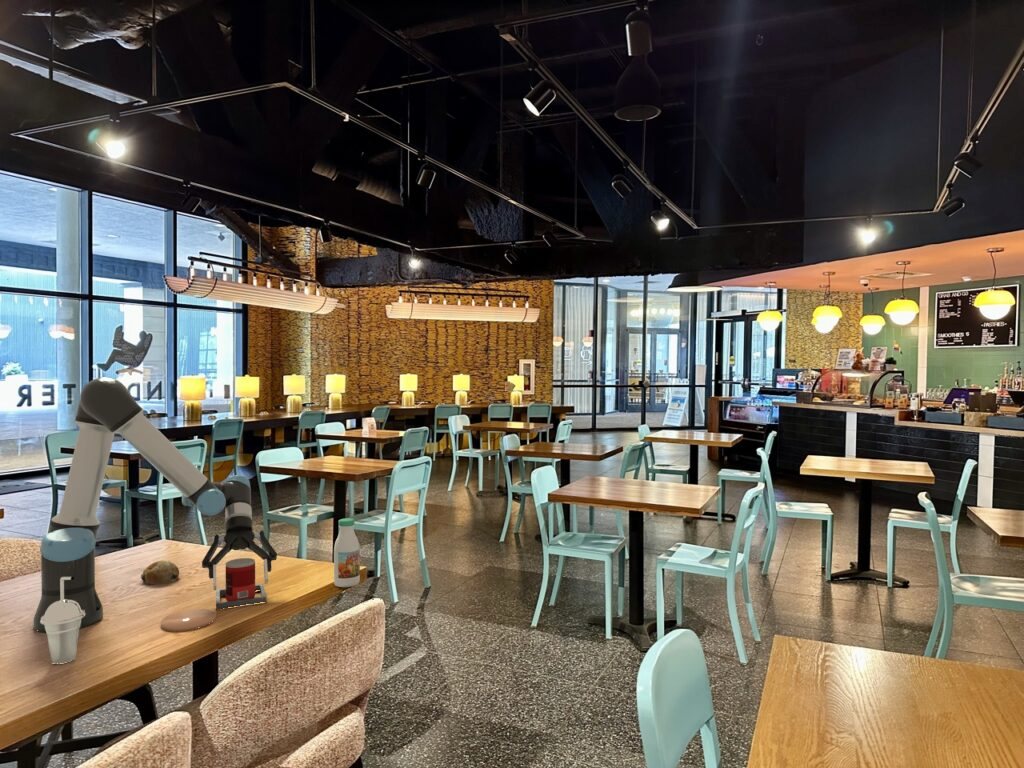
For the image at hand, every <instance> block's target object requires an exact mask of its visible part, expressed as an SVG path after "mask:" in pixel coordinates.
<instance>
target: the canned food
mask: <svg viewBox="0 0 1024 768" xmlns="http://www.w3.org/2000/svg"><path fill="white" fill-rule="evenodd" d="M255 585H256V560H255V559H254V558H250V557H241V558H235V559H231V560H228V561H227V562H226V563H225V589H226V596H225V601H232V600H240V599H247V598H255V597H256V592H255Z"/></svg>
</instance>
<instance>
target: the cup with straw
mask: <svg viewBox="0 0 1024 768" xmlns="http://www.w3.org/2000/svg"><path fill="white" fill-rule="evenodd" d="M73 579H74V577H61V579H60V600H58V601H56V602H54V603H53V604H51V605H50V606H49V607H48V609H47V610H46V612H45V615H44V616H42V617H41V621H40V623H41V624H44V625H45V630H46V632H45V633H46V635H47V642H48V644H47V645H48V650H49V656H50V660H51V663H55V664H57V663H58V664H60V663H65V662H69V661H72V660H74V659H75V657H76V655H77V650H78V642H79V634H80V628H79V627H80V624H81V619H82V618H83V617H84V616H85V615H86V614H85V610H84V609H81V607H80V605H79V604H78V603H77V602H76V601H74V600H71V599H64V580H73ZM75 660H76V659H75ZM75 660H74V661H75ZM72 662H73V661H72Z"/></svg>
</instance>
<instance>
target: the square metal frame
mask: <svg viewBox="0 0 1024 768" xmlns="http://www.w3.org/2000/svg"><path fill="white" fill-rule="evenodd" d="M256 590H260V591H259V593H260V592H261V594H260V596H255V597H254V598H247V599H240V600H232V601H226V600H225V601H221V597H222V596H221V595H226V588H220V589H216V590H215V611H218V610H217V609H222V610H224V609H223V608H228V607H234V606H240V605H246V604H254V603H260V602H266V603H267V594H266V589H265V585H264V583H260V584H259V583H258V584H255V591H256Z"/></svg>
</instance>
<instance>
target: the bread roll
mask: <svg viewBox="0 0 1024 768" xmlns="http://www.w3.org/2000/svg"><path fill="white" fill-rule="evenodd" d="M179 576H180V569H179V568H178V566H177V565H176V564H175V563H174V562H172V561H170V560H157V561H155V562H153V563H150V564H149V565H148V566H146V568H145V569H143V572H142V573H141V574H140V578H141V581H142V582H143V583H144V584H145V585H149V584H150V586H153V585H165V584H169V582H170V583H174V582H175V581H176V580H177V579H178V578H179Z"/></svg>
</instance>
